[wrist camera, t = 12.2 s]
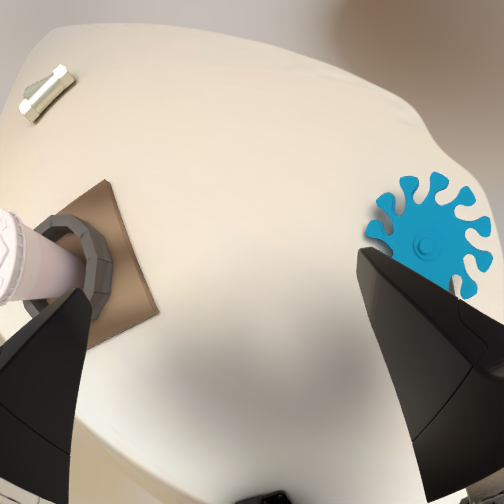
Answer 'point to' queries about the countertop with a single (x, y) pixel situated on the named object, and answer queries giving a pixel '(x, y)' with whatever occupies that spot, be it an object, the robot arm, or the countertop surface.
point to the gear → (433, 234)
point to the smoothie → (34, 263)
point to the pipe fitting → (44, 92)
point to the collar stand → (100, 263)
